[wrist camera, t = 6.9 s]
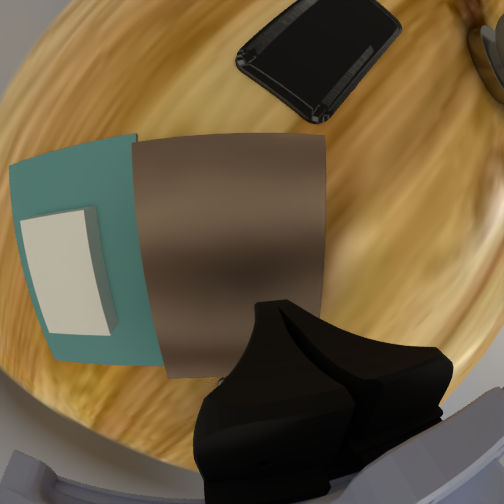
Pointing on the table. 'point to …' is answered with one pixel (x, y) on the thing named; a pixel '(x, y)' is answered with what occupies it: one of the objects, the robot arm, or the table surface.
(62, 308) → the white rectangular block
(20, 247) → the mat
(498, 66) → the lamp
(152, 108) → the table surface
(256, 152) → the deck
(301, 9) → the phone
